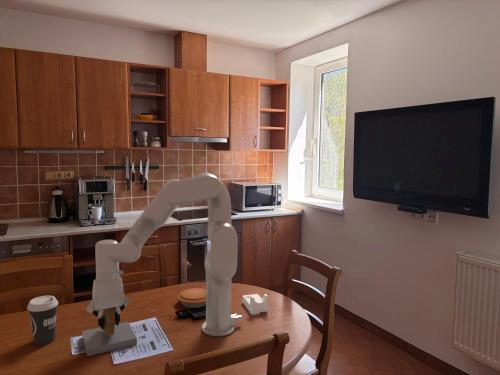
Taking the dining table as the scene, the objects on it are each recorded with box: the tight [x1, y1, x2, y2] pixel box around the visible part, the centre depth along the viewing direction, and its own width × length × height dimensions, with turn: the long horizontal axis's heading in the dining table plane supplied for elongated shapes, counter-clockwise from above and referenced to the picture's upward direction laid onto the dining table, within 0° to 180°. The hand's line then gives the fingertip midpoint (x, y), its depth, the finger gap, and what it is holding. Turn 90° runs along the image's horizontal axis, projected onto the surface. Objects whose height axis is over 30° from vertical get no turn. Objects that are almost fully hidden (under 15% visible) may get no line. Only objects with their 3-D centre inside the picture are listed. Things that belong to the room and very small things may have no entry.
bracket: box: [242, 293, 269, 316], centre depth 163 cm, size 13×7×8 cm, turn 18°
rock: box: [102, 307, 116, 336], centre depth 132 cm, size 11×9×10 cm
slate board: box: [82, 321, 138, 357], centre depth 133 cm, size 16×14×2 cm
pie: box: [176, 287, 206, 309], centre depth 167 cm, size 15×16×5 cm
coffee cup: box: [27, 295, 59, 346], centre depth 132 cm, size 10×10×15 cm
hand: (109, 325), depth 133 cm, fingers closed on rock, 4 cm apart
